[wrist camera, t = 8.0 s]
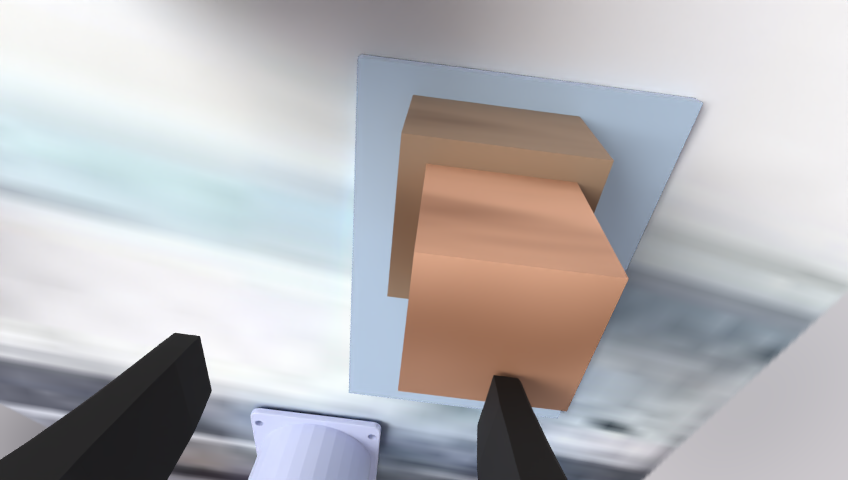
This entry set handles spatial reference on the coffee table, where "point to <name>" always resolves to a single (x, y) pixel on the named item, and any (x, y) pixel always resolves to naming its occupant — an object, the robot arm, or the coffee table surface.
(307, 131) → the coffee table surface
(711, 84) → the coffee table surface
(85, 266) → the coffee table surface
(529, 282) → the terracotta block
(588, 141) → the base brick
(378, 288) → the board
